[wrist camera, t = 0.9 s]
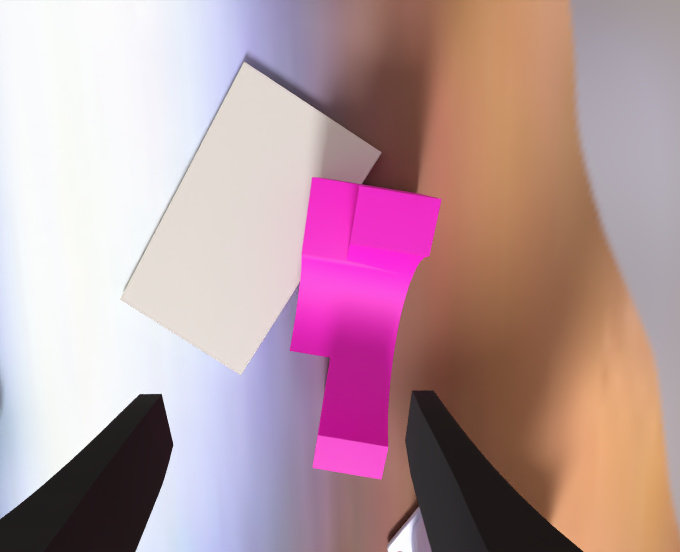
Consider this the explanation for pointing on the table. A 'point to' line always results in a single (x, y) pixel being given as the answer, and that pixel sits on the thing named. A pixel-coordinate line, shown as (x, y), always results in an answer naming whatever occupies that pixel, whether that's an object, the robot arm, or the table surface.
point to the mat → (242, 219)
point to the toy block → (357, 309)
